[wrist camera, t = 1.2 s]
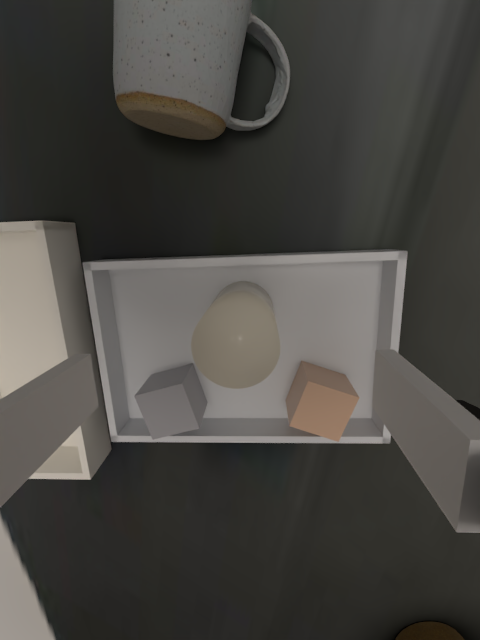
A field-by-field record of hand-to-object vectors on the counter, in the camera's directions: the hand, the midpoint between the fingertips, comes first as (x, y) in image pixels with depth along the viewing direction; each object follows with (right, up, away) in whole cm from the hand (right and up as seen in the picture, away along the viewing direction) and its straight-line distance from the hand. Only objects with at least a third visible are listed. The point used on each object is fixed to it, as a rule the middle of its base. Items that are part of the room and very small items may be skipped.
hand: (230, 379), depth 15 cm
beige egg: (+1, +3, +12) cm, 12 cm away
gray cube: (-5, -3, +14) cm, 15 cm away
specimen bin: (-18, 0, +14) cm, 23 cm away
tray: (+1, +1, +13) cm, 13 cm away
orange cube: (+7, -3, +13) cm, 15 cm away
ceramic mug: (-2, +20, +8) cm, 22 cm away
